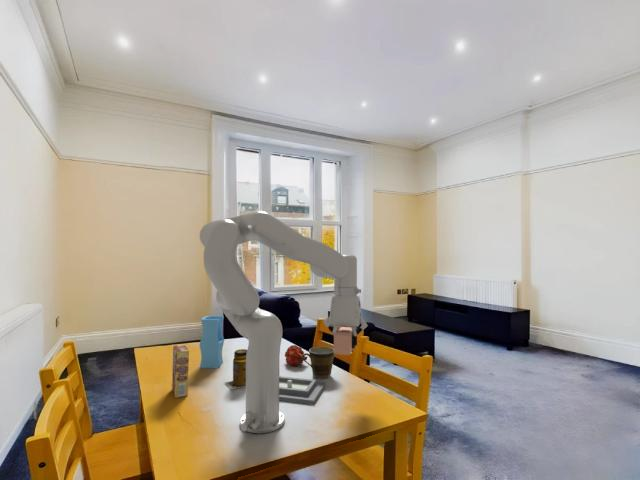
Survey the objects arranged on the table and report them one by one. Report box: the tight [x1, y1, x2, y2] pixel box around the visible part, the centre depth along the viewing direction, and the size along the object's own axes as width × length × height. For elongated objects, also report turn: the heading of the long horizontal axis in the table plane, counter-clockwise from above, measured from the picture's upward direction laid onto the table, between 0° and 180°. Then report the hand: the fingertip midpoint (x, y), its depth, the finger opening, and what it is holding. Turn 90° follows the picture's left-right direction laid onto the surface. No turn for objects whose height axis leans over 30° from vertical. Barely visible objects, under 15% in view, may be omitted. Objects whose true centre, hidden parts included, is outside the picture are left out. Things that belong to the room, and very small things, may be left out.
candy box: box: [171, 344, 190, 399], centre depth 122 cm, size 9×4×15 cm, turn 29°
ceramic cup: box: [302, 346, 335, 380], centre depth 138 cm, size 13×10×10 cm
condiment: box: [224, 348, 248, 390], centre depth 130 cm, size 7×8×12 cm
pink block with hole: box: [333, 326, 354, 356], centre depth 118 cm, size 12×5×6 cm, turn 165°
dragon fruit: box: [284, 344, 308, 368], centre depth 151 cm, size 8×8×12 cm
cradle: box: [279, 375, 327, 405], centre depth 124 cm, size 16×22×4 cm
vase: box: [199, 315, 225, 369], centre depth 151 cm, size 8×8×20 cm
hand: (345, 346), depth 118 cm, fingers closed on pink block with hole, 5 cm apart
